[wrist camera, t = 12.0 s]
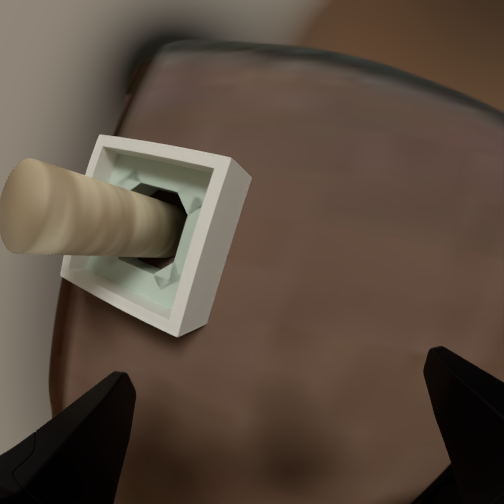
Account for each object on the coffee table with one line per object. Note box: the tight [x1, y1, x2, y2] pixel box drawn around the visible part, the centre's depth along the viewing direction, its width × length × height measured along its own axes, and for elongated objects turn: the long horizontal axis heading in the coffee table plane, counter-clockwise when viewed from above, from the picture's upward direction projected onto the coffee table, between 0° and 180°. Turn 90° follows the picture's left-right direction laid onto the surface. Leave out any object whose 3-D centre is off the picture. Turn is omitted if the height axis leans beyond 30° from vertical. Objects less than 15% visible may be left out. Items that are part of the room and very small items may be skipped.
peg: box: [0, 158, 187, 258], centre depth 17 cm, size 4×4×13 cm
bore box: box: [60, 135, 252, 337], centre depth 21 cm, size 11×11×4 cm
